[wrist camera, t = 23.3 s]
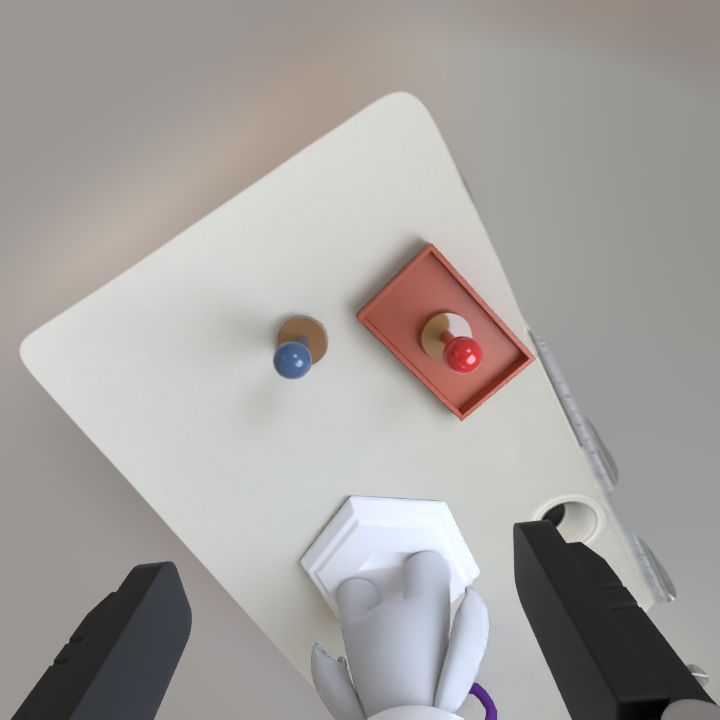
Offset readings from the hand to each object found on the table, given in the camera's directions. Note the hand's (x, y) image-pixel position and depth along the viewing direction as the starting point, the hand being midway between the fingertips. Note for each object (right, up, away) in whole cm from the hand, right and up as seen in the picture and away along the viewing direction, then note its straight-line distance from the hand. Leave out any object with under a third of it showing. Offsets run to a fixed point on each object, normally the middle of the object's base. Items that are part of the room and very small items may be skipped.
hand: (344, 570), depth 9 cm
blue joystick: (-6, +7, +32) cm, 34 cm away
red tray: (+9, +8, +32) cm, 34 cm away
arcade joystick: (+9, +8, +32) cm, 34 cm away
